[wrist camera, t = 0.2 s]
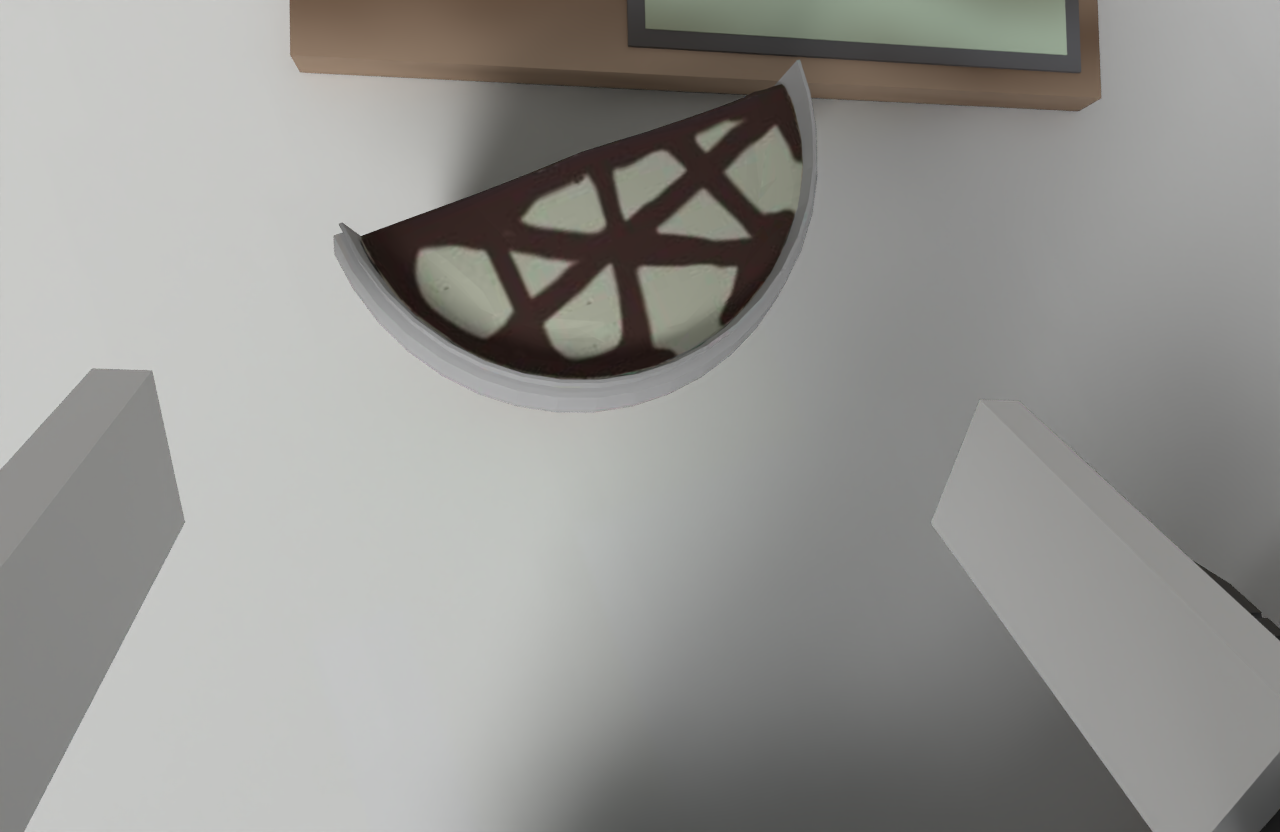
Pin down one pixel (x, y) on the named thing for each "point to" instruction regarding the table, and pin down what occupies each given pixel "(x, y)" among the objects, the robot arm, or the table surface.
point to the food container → (604, 260)
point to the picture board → (723, 46)
